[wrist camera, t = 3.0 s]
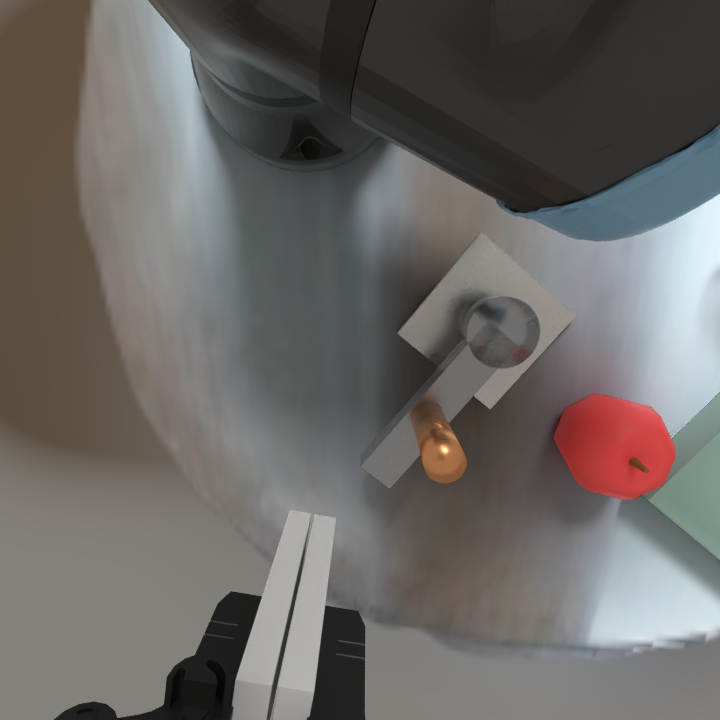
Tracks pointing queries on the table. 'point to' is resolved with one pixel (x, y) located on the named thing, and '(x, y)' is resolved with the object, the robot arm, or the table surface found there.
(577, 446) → the apple
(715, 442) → the tray
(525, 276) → the crank post
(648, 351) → the table surface
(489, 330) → the crank
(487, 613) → the table surface
